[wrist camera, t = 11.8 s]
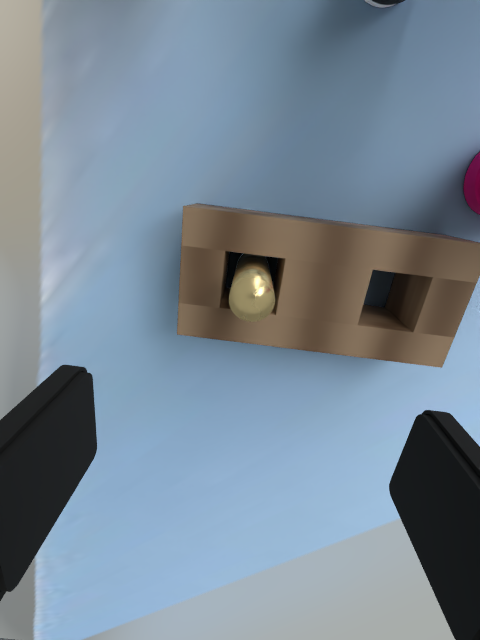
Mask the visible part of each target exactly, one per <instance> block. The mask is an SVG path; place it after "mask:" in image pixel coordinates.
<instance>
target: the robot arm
mask: <svg viewBox="0 0 480 640" xmlns="http://www.w3.org/2000/svg"><path fill="white" fill-rule="evenodd" d="M96 450H97V438H96V423H95V407H94V392H93V378H92V374H91V373H87V370H86V368H84V367H79V366H71V365H62V366H60V367H59V368H58V369H57V370H56V371H55V372H53V373H52V374H51V375H50V376H49V377H48V378H47V379H46V380H45V381H43V382H42V383H41V384H40V385H39V386H38V387H37V388H36V389H35V390H33V391H32V392H31V393H30V394H29V395H28V396H27V397H26V398H25V399H24V400H22V401H21V402H20V403H19V404H18V405H17V406H16V407H14V408H13V409H12V410H11V411H10V412H9V413H8V414H7V415H6V416H4V417H3V418H2V419H1V420H0V601H1V599H2V598H3V595H4V594H5V593H6V591H8V592H11V591H12V590H13V589H14V588H15V587H16V586H17V585H18V583H19V582H20V580H21V578H22V577H23V575H24V574H25V572H26V570H27V569H28V567H29V565H30V564H31V562H32V560H33V559H34V557H35V555H36V554H37V552H38V550H39V549H40V547H41V545H42V544H43V542H44V540H45V539H46V537H47V535H48V534H49V532H50V530H51V529H52V527H53V526H54V524H55V522H56V521H57V519H58V517H59V516H60V514H61V512H62V511H63V509H64V507H65V506H66V504H67V502H68V501H69V499H70V497H71V496H72V494H73V492H74V491H75V489H76V487H77V486H78V484H79V482H80V481H81V479H82V477H83V476H84V474H85V472H86V471H87V469H88V467H89V466H90V464H91V462H92V461H93V459H94V457H95V454H96ZM389 491H390V495H391V498H392V500H393V502H394V504H395V507H396V509H397V511H398V513H399V516H400V518H401V520H402V522H403V524H404V527H405V529H406V531H407V533H408V536H409V538H410V540H411V542H412V545H413V547H414V549H415V551H416V553H417V556H418V558H419V560H420V562H421V565H422V567H423V569H424V571H425V573H426V576H427V578H428V580H429V582H430V585H431V587H432V589H433V591H434V593H435V596H436V598H437V600H438V603H439V605H440V607H441V609H442V611H443V614H444V616H445V618H446V620H447V623H448V625H449V627H450V629H451V632H452V634H453V636H454V638H455V639H456V640H480V447H479V445H478V444H477V443H476V442H475V441H474V440H473V439H472V438H471V436H470V435H469V434H468V433H467V432H466V431H465V430H464V428H463V427H462V426H461V425H460V424H459V423H458V422H457V421H456V419H455V418H454V417H453V416H452V415H451V414H450V413H447V412H439V411H431V410H426V411H424V412H423V413H422V414H420V415H418V416H417V417H416V419H415V421H414V424H413V426H412V429H411V431H410V433H409V436H408V438H407V441H406V443H405V446H404V448H403V451H402V453H401V456H400V458H399V461H398V463H397V466H396V468H395V471H394V473H393V476H392V478H391V481H390V484H389ZM0 640H13V639H3V638H0Z"/></svg>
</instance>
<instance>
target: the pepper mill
mask: <svg viewBox="0 0 480 640" xmlns="http://www.w3.org/2000/svg"><path fill="white" fill-rule="evenodd" d="M463 189H464V195H465V199H466V201H467V203H468V205H469V207H470V208H471V209H472V210H473V211H474V212H476V213H477V214H479V215H480V152H479V153H478V154H477V155H476V156H475V158H474V159H473V161H472V162H471V164H470V165H469V168H468V170H467V172H466V175H465V180H464V188H463Z"/></svg>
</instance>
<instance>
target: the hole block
mask: <svg viewBox="0 0 480 640" xmlns="http://www.w3.org/2000/svg"><path fill="white" fill-rule="evenodd" d="M229 251H230V252H238V253H245V254H253V255H261V256H269V257H277V258H278V259H277V265H276V272H275V278H274V284H273V289H274V294H275V305H274V308H273V310H272V312H271V313H270V314H269V315H268V316H267V317H266V318H264V319H262V320H260V321H256V322H248V321H244V320H242V319H240V318H238V317H237V316H236V315H235V314H234V313H233V312H232V310H231V308H230V305H229V294H230V290H231V288H229V287H226V280H227V270H228V261H229ZM373 270H380V271H387V272H395V276H394V279H393V282H392V285H391V289H390V292H389V295H388V298H387V302H386V305H385V307H379V306H371V305H363V304H364V300H365V296H366V293H367V289H368V286H369V282H370V278H371V275H372V271H373ZM479 276H480V243H479V242H474V241H470V240H465V239H461V238H456V237H452V236H447V235H441V234H433V233H425V232H418V231H410V230H402V229H394V228H386V227H378V226H370V225H363V224H355V223H347V222H339V221H331V220H323V219H316V218H308V217H300V216H292V215H284V214H276V213H269V212H261V211H253V210H245V209H237V208H229V207H222V206H214V205H206V204H198V203H197V204H192V205H186V206H183V222H182V243H181V263H180V284H179V304H178V325H177V334H178V335H186V336H194V337H202V338H210V339H218V340H226V341H234V342H242V343H250V344H258V345H266V346H274V347H282V348H290V349H298V350H306V351H314V352H322V353H330V354H338V355H346V356H354V357H362V358H370V359H378V360H386V361H394V362H402V363H410V364H418V365H426V366H434V367H442V366H443V364H444V361H445V359H446V356H447V354H448V351H449V349H450V347H451V344H452V342H453V339H454V337H455V334H456V332H457V329H458V327H459V325H460V322H461V320H462V317H463V315H464V312H465V310H466V307H467V305H468V303H469V300H470V298H471V295H472V293H473V290H474V288H475V285H476V283H477V281H478V278H479Z"/></svg>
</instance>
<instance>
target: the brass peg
mask: <svg viewBox="0 0 480 640" xmlns="http://www.w3.org/2000/svg"><path fill="white" fill-rule="evenodd" d="M229 305H230V308H231V310H232V312H233V313H234V314H235V315H236V316H237V317H238V318H240V319H242V320H244V321H248V322H256V321H260V320H262V319H264V318H266V317H267V316H268V315H269V314H270V313H271V312H272V310H273V308H274V305H275V294H274V289H273V284H272V279H271V274H270V269H269V264H268V261H267V259H266V257H265V256H261V255H253V254H245V253H244V254H243V255H241V257H240V258H239V260H238V262H237V266H236V270H235V274H234V278H233V282H232V286H231V290H230V294H229Z"/></svg>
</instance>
